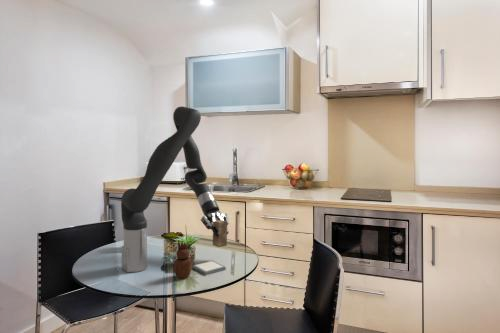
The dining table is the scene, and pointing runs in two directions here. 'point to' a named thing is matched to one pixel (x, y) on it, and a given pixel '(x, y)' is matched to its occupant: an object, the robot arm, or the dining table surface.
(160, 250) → the dining table surface
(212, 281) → the dining table surface
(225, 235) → the walnut block
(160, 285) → the dining table surface
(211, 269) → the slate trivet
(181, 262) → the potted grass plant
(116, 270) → the dining table surface
